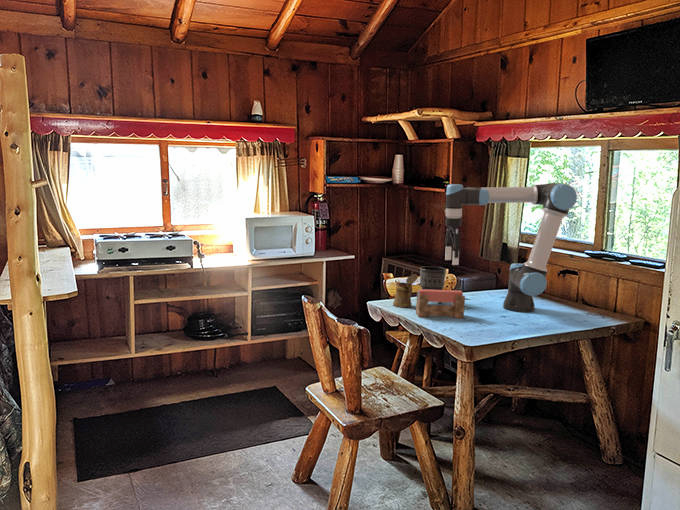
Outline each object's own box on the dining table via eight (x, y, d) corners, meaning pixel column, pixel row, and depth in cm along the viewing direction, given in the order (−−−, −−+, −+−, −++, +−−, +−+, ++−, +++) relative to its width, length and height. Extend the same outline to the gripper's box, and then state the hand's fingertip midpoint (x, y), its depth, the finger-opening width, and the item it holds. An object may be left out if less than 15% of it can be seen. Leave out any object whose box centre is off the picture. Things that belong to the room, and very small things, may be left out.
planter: (447, 302, 306) (449, 268, 303) (437, 306, 295) (439, 271, 293) (424, 298, 313) (426, 265, 310) (413, 302, 302) (416, 268, 299)
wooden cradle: (459, 314, 282) (461, 292, 280) (463, 318, 274) (465, 296, 273) (415, 313, 281) (417, 291, 279) (418, 317, 273) (419, 294, 272)
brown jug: (405, 310, 285) (407, 273, 282) (389, 304, 296) (391, 268, 293) (420, 309, 289) (422, 272, 286) (403, 302, 301) (406, 267, 298)
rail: (460, 301, 278) (461, 290, 278) (462, 302, 275) (462, 292, 274) (417, 299, 278) (418, 289, 277) (418, 301, 274) (419, 290, 273)
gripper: (439, 215, 289) (437, 258, 293) (452, 220, 265) (450, 266, 268) (454, 215, 290) (452, 258, 293) (468, 220, 265) (466, 266, 268)
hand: (451, 262), depth 280 cm, fingers open, 13 cm apart
